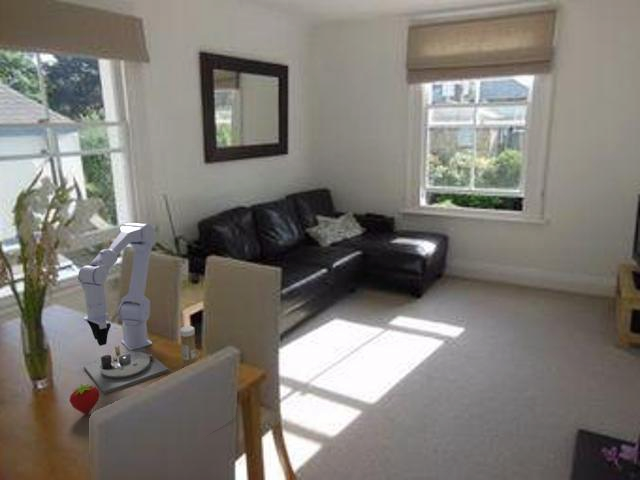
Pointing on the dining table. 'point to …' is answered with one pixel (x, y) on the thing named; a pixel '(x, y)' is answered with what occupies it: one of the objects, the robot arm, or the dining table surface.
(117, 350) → the brass dowel
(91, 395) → the strawberry
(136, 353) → the flange plate
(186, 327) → the sprinkles bottle
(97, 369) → the charcoal board
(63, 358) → the dining table surface
